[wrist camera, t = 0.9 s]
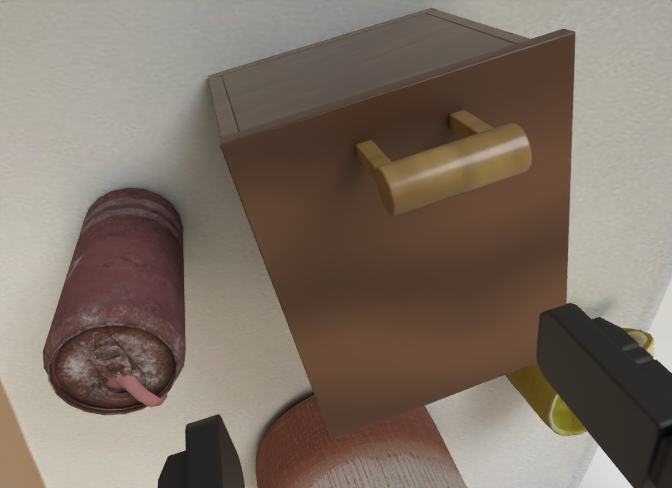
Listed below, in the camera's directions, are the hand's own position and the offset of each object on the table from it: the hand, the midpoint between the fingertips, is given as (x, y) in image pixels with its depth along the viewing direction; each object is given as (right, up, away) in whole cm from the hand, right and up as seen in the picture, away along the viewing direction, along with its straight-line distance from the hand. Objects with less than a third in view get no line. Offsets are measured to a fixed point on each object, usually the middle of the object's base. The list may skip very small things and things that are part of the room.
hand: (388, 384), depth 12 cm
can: (-15, +5, +23) cm, 27 cm away
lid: (+3, +2, +13) cm, 14 cm away
